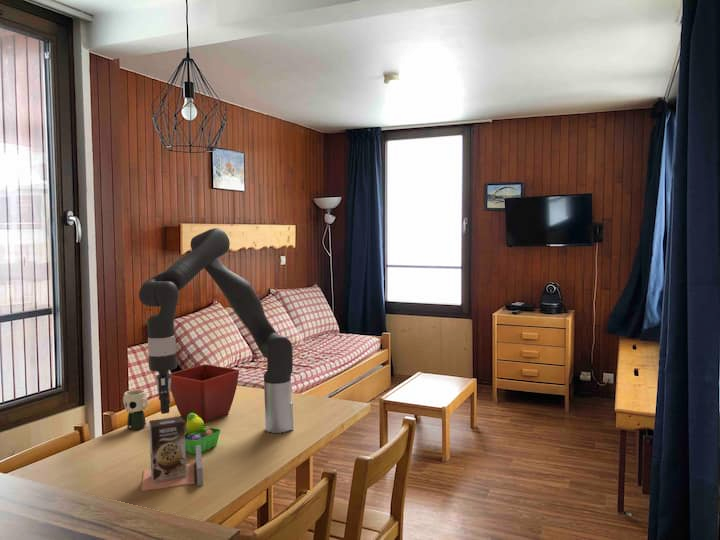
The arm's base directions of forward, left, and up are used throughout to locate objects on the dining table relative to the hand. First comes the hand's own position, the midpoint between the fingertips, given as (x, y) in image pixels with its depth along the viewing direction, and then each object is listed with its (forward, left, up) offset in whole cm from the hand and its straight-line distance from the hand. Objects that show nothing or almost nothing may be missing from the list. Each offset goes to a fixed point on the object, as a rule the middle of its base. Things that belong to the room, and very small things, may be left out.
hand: (165, 408), depth 168 cm
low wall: (-8, 0, -20) cm, 22 cm away
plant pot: (-12, -53, -20) cm, 58 cm away
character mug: (+12, -48, -20) cm, 54 cm away
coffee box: (0, 0, -20) cm, 20 cm away
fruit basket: (-9, -20, -20) cm, 30 cm away
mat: (0, 0, -20) cm, 20 cm away
